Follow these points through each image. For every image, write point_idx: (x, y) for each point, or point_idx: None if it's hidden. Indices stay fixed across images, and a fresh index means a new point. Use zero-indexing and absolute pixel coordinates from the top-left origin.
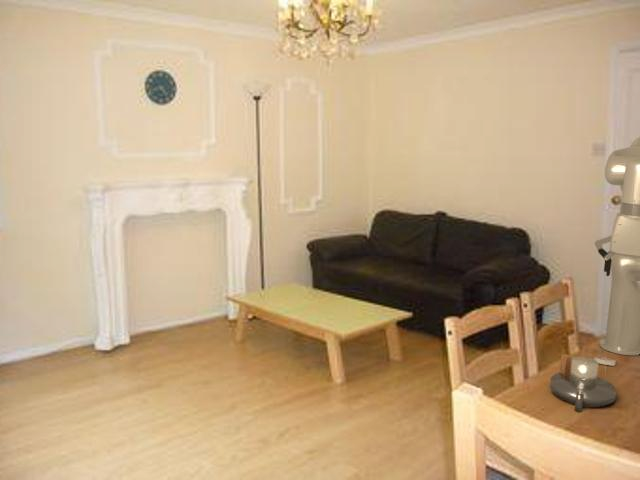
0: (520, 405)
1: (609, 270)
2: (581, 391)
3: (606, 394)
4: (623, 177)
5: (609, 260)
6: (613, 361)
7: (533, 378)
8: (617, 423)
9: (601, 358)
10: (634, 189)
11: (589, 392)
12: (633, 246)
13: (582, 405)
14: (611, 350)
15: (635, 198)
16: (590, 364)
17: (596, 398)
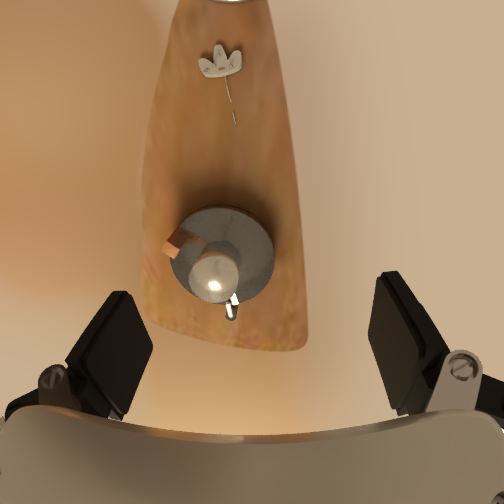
0: (171, 323)
1: (142, 371)
2: (230, 308)
3: (262, 278)
4: None
5: (109, 410)
6: (238, 66)
7: (142, 229)
8: (286, 306)
9: (213, 65)
10: None
11: (238, 286)
12: None
13: (237, 305)
14: (221, 1)
15: None
16: (224, 291)
17: (252, 297)
